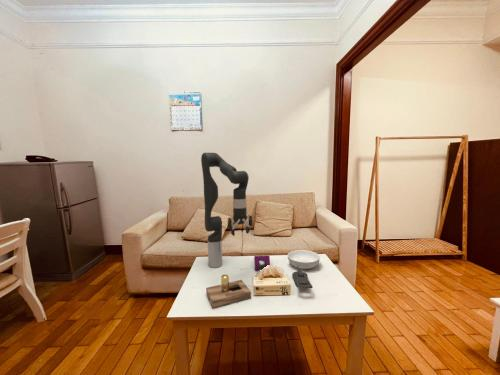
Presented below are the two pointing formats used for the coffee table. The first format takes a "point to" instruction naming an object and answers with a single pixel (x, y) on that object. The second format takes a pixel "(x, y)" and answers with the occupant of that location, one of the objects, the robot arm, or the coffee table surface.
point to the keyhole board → (228, 294)
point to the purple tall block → (257, 258)
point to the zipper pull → (301, 279)
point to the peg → (225, 282)
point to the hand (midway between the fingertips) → (240, 234)
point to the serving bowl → (303, 258)
